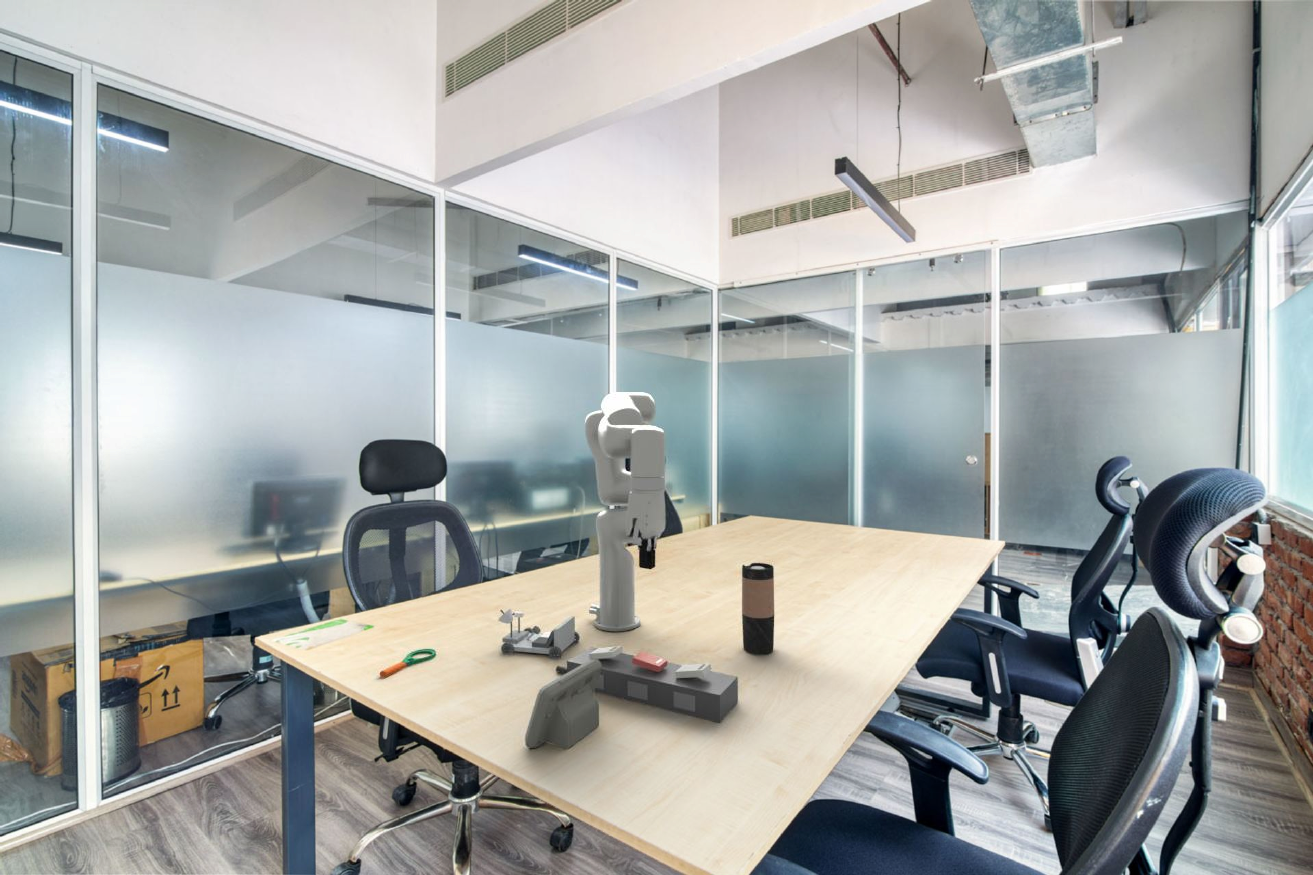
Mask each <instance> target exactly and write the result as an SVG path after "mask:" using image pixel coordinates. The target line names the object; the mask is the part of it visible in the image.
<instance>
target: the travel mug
mask: <svg viewBox="0 0 1313 875" xmlns="http://www.w3.org/2000/svg"><path fill="white" fill-rule="evenodd" d="M774 570H775V568H774V566H773V565H772V564H770V563H763V562H752V563H750V564H748V565H745V564H742V566H741V578H742V579H741V618H742V645H743V646H742V647H743V648H742V649H743V650H744V651H745V652H746V653H749V654H751V655H759V656H764V655H769V654H772V652H774V645H775V644H774V638H775V636H774V635H775V579H774V578H775V577H774V573H775V571H774Z"/></svg>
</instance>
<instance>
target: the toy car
mask: <svg viewBox="0 0 1313 875" xmlns="http://www.w3.org/2000/svg"><path fill="white" fill-rule="evenodd" d="M500 613H501V616H499V617H498V619H497V620H498V621H499V622H501V623H504V624H507V625H508V624H510V633H508V634H507V635H505V636H503V637H502V638H501V640H502V643H503V644H501V648H500V649H501V653H502V654H504V655H505V654H508V655H512V654H513V653H514V652H522V653H531V654H534V653H535V654H543V655H549V658H550V659H555V660H559V659H561V658H562V656H563V651H564V650H566V649H567V648H568V647H569V646H570V645H572V643H573V644H577V643H578V642H580V639H581V638H580V634H579V632H577V631H576V626H575V623H576V622H575V621H576V618H575V616H574V615H573V616H572V615H570V616H569V617H567V618H566V619H565V620H564V621H562V622H561V623H560V624H559V625H557V626H556V627H555V628H554V629H552V630H551V631H545V632H544V633H541V628H540V627H539V626H537V625H535V626H533V628H531V627H525V629H523V630H521V620H520V619H521V618H523V617H524V614H525V613H524V611H515V612H513V610H512V608H509V609H507V610H506V611H505V612H504V610H502V609H500ZM514 618H518V619H517V621H518V622H517V624H518V626H517V630H515V629H514V630H513V619H514Z"/></svg>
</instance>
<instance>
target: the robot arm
mask: <svg viewBox="0 0 1313 875" xmlns="http://www.w3.org/2000/svg"><path fill="white" fill-rule="evenodd" d="M600 407H601V409H600V410H596V411H593V412H590V413H589V414H588V415H587V416H586V418H585V420H584V433H585V438H586V442H587V445H588V448H589V451H590V452H591V454H592V457H593V460H594V463H595V464H594V465H595V476H596V486H597V494H598V498H599V501H600V503H601V504H603V505H605V506H609V507H613V506H614V507H613V508H609V509H608V508H607V509H604V510H602V511H601V512H599V513H598V514H597V516H596V519H595V528H596V529H595V531H596V537H597V544H598V556H599V558H598V559H599V560H598V561H599V563H598V564H599V605H598V604H591V605H590V606H589V607H590V608H589V610H588V613H589V614H591V615H595V616H596V617H595V619H594V621H593V625H594V627H596V628H597V629H599V630H601V631H607V632H623V631H624V632H625V631H630V630H633V629H636V628H638V627H639V626H640V625H641V618H640V617H639V616H637V615H635V614H636V613H635V610H636V609H635V608H636V607H635V606H636V605H635V599H636V598H635V596H636V595H635V594H636V592H635V559H634V556H633V554H632V553H631V552H630V551H629V550H628V548H627V547H626V546H625V545H626V544H632V545H633V546H637V550H638V568H640V569H646V570H652V569H654V568H656V549H657V546H658V545H657V544H658V540H659V538H660V537H661V536H662V533H663V532H664V531H665V529H666V500H665V499H666V498H665V491H666V489H665V488H666V486H665V485H666V480H665V479H666V432H665V431H664V430H663V429H662V428H660V427H658V426H655V425H652V424H653V423H654V420H655V417H656V412H657V409H656V408H657V407H656V403H655V400H654V398H653V397H652V395H651V394H649V393H646V392H629V391H628V392H625V391H622V392H621V391H620V392H612V393H609V394H607V395H606V396H605V397H604V398H603V400H602V402H601V406H600ZM625 459H630V471H627V469H626V463H625V462H626V461H625ZM618 506H619V507H618ZM620 506H621V507H620ZM622 506H626V507H622ZM615 507H616V508H615ZM617 507H618V508H617Z"/></svg>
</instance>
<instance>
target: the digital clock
mask: <svg viewBox="0 0 1313 875" xmlns="http://www.w3.org/2000/svg"><path fill="white" fill-rule="evenodd" d="M600 672H601V663H600V661H599V660H597V659H595V660H590V661H588V662H586V663H584V664H582V665H580V666H579V667H577V668H575V669H573V670H572V671H570V672H568V673H566V674H565V673H563V675H561V676H560V677H558V678H556V679H554V680H552V681H551V682H549V683H547V684H546V685H543V686H541V688H540V689H539V690H538V693H537V695H536V699H535V702H534V706H533V709H532V711H531V715H530V718H529V723H528V725H527V728H526V729H527V730H526V733H525V736H524V743H525V746H526V747H527V748H530V749H531V748H532V749H534V748H538V747H539V746H542V744H544V743H547V744H550V745H554V746H556V747H559V748H563V749H565V750H569V749H570V748H572V746H574V745H575V744H577V743H578V742H579V741H581V740H582V739H583V738H585V737H586V736H587V735H589V734H590V733H591V732H593V731H594V730H595V729H597V728H598V727H599V726H600V702H599V700H598V699H597V698H596V697H595V695H594V694H595V692H594V691H595V688H596V685H597V681H598V678H599V675H600Z"/></svg>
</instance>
